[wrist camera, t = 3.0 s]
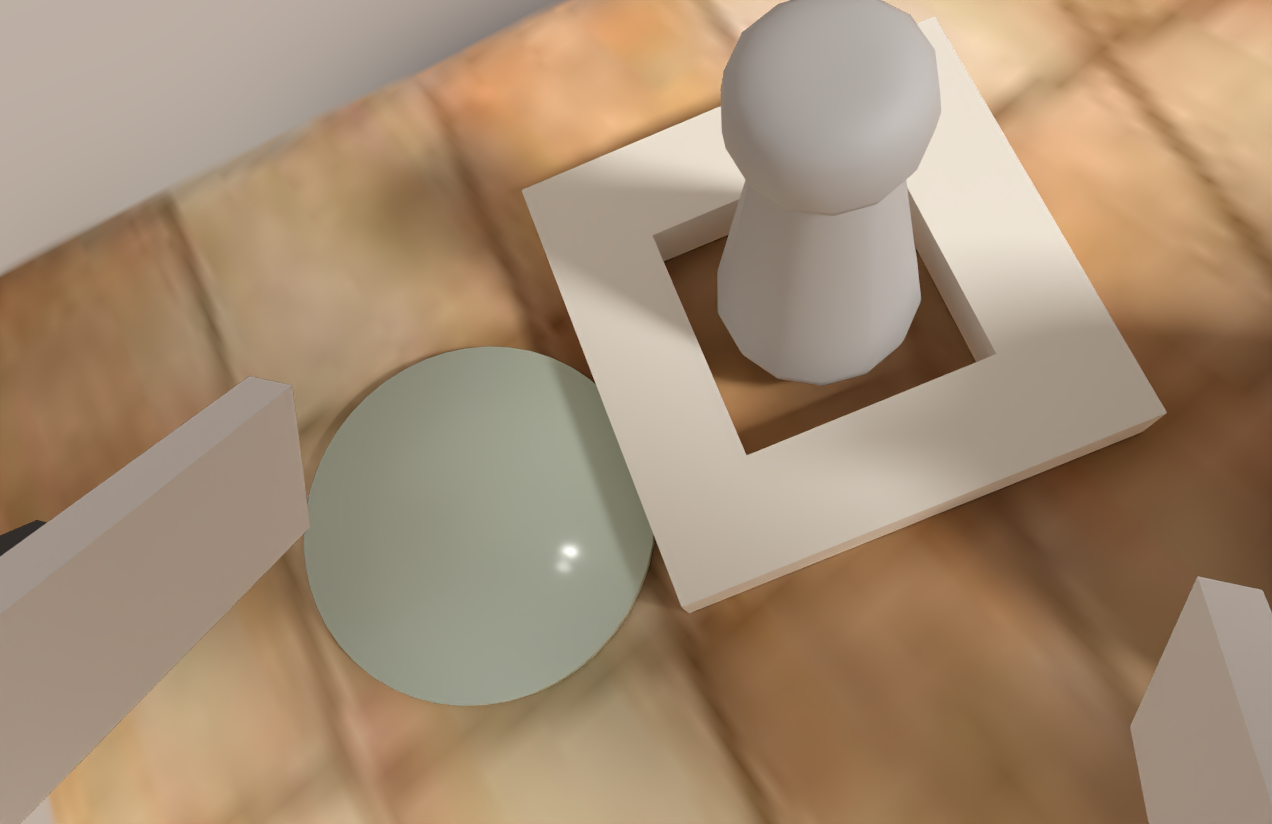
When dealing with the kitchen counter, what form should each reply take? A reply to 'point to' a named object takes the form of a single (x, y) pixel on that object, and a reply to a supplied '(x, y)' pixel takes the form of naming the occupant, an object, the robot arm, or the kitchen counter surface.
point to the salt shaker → (825, 185)
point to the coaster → (476, 528)
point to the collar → (870, 437)
